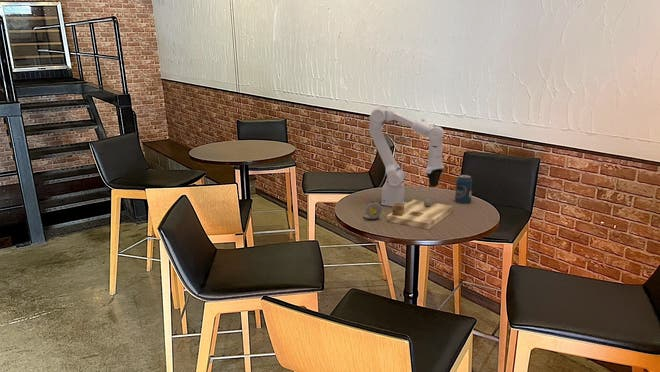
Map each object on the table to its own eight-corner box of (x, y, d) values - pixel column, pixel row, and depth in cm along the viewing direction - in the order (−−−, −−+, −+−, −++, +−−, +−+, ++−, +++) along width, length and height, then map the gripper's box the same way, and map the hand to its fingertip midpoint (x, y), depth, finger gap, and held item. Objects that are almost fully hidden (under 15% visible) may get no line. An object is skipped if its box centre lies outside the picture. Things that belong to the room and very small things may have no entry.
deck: (386, 221, 203) (387, 215, 203) (413, 204, 224) (413, 199, 223) (428, 229, 194) (428, 223, 193) (452, 211, 215) (452, 205, 214)
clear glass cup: (370, 213, 213) (370, 191, 210) (385, 218, 207) (386, 195, 204) (357, 218, 207) (357, 195, 204) (372, 223, 201) (373, 199, 199)
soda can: (452, 202, 228) (453, 176, 224) (459, 198, 233) (461, 173, 229) (466, 204, 223) (468, 178, 220) (473, 201, 228) (475, 175, 225)
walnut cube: (392, 215, 203) (392, 205, 202) (394, 212, 207) (394, 202, 206) (402, 216, 202) (402, 206, 201) (403, 212, 205) (404, 203, 204)
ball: (422, 206, 213) (422, 198, 212) (425, 204, 216) (425, 196, 215) (429, 207, 212) (430, 199, 211) (432, 205, 214) (433, 197, 213)
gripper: (437, 159, 205) (436, 191, 209) (450, 153, 217) (448, 183, 220) (421, 157, 209) (420, 189, 212) (435, 151, 220) (433, 181, 224)
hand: (433, 186), depth 217 cm, fingers closed
